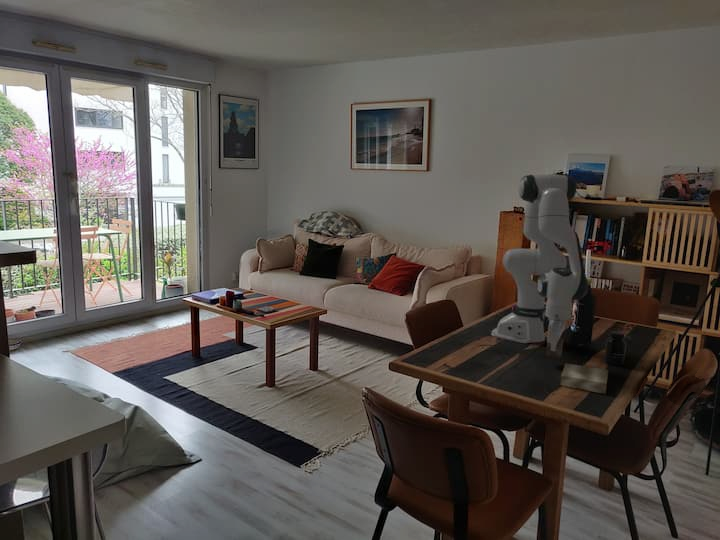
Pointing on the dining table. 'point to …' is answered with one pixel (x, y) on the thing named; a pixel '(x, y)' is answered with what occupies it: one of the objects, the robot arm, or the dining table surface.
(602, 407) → the dining table surface
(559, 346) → the walnut block
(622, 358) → the supplement bottle
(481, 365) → the dining table surface
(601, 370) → the ash platform
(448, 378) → the dining table surface
